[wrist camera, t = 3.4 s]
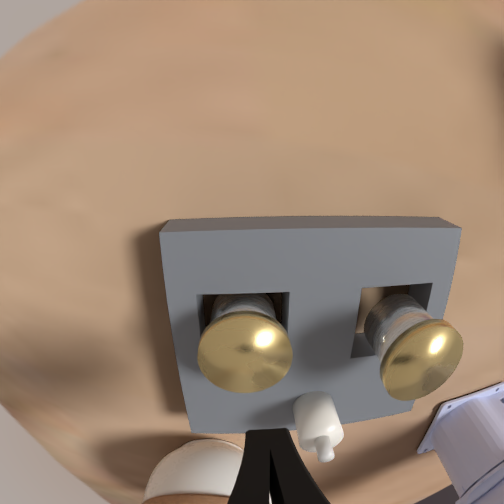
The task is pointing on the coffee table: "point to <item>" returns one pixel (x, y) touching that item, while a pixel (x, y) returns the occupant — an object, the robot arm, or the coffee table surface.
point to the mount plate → (301, 304)
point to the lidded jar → (196, 474)
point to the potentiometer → (317, 424)
